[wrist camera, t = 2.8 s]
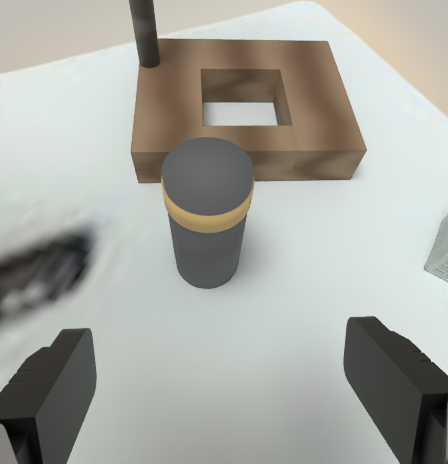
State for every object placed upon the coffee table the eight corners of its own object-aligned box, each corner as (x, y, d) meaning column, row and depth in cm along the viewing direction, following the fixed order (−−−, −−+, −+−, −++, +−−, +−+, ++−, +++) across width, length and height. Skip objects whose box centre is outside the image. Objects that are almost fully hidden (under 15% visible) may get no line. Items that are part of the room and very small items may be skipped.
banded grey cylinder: (174, 291, 27) (158, 211, 17) (175, 232, 30) (161, 136, 20) (241, 288, 27) (261, 208, 18) (236, 231, 30) (250, 135, 20)
